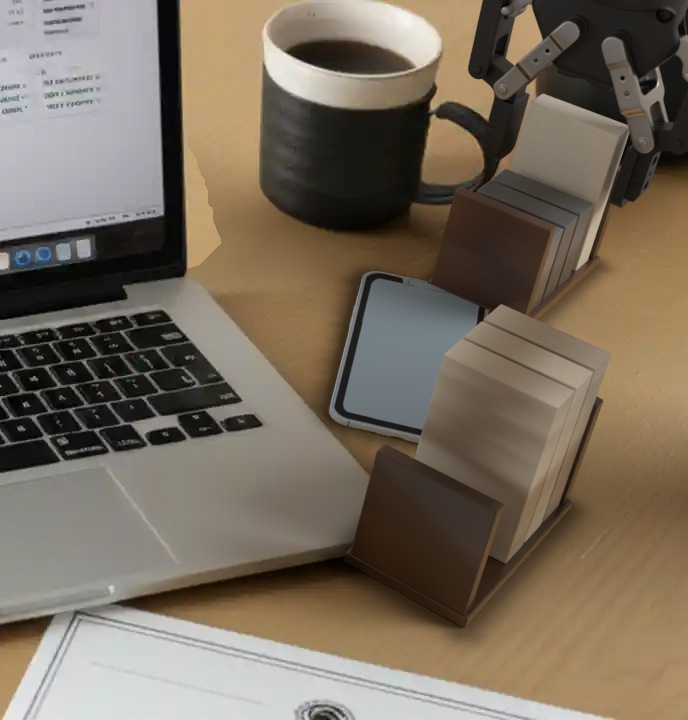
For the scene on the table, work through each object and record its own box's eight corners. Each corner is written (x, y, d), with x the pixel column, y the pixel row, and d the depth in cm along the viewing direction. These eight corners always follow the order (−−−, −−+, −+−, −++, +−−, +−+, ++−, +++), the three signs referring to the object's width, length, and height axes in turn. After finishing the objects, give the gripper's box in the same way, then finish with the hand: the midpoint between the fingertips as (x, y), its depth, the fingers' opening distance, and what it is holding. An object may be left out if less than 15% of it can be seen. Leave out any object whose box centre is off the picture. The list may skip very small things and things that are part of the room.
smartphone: (326, 416, 84) (363, 267, 96) (323, 429, 85) (361, 279, 97) (471, 449, 83) (491, 295, 95) (468, 462, 84) (488, 307, 95)
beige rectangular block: (587, 261, 99) (631, 126, 94) (575, 272, 98) (619, 136, 92) (504, 226, 101) (542, 92, 96) (491, 236, 100) (529, 102, 95)
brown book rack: (569, 509, 80) (627, 348, 75) (464, 628, 73) (519, 459, 67) (455, 452, 83) (502, 293, 78) (342, 561, 76) (386, 393, 70)
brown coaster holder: (597, 265, 100) (629, 168, 96) (523, 333, 93) (554, 232, 89) (504, 225, 103) (531, 130, 99) (425, 289, 96) (451, 189, 92)
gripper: (801, -74, 86) (700, 201, 96) (548, -150, 93) (477, 114, 103) (753, -38, 81) (651, 248, 91) (488, -122, 88) (420, 153, 98)
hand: (559, 176), depth 97 cm, fingers open, 7 cm apart
